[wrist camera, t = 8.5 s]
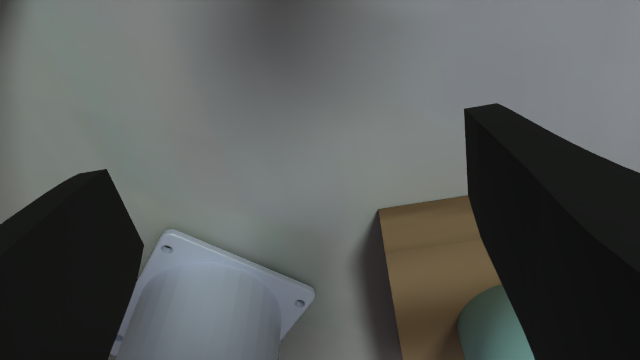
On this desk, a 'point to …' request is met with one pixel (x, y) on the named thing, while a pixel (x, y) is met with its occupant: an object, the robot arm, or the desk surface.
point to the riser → (434, 273)
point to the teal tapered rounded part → (492, 328)
